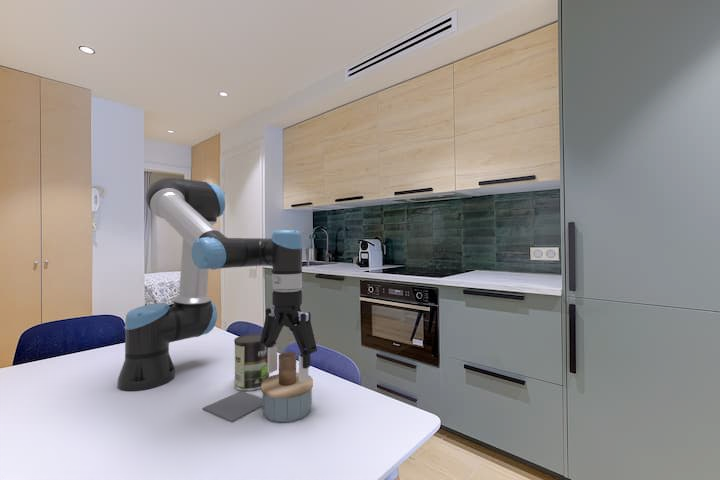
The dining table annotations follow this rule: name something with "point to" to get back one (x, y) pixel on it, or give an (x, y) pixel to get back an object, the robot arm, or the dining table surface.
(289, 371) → the lid
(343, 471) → the dining table surface
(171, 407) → the dining table surface
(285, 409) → the bowl
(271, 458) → the dining table surface
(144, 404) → the dining table surface
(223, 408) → the mat
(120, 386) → the robot arm
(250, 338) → the coffee can
